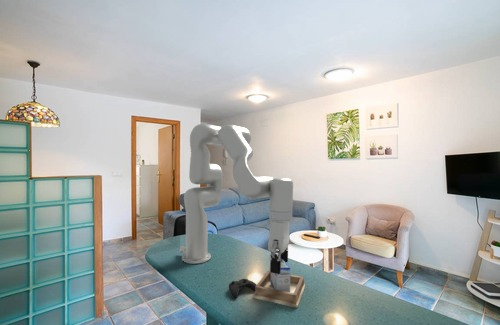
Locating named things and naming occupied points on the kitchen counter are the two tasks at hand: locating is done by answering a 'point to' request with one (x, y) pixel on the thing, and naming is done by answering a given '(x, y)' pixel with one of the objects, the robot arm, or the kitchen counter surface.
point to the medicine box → (281, 278)
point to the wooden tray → (277, 296)
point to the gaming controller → (240, 286)
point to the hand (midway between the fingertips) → (279, 266)
